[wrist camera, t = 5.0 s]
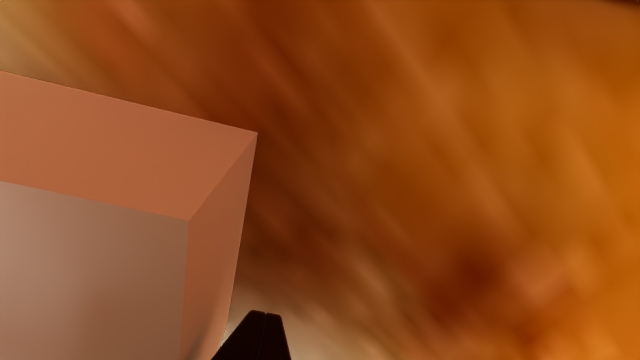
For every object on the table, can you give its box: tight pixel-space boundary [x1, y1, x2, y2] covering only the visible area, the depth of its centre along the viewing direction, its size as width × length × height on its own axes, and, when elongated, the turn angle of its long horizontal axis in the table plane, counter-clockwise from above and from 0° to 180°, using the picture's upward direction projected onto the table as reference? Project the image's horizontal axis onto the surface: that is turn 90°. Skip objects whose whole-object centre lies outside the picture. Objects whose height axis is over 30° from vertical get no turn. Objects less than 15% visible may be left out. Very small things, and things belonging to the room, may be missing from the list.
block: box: [0, 70, 258, 360], centre depth 8 cm, size 8×9×5 cm
